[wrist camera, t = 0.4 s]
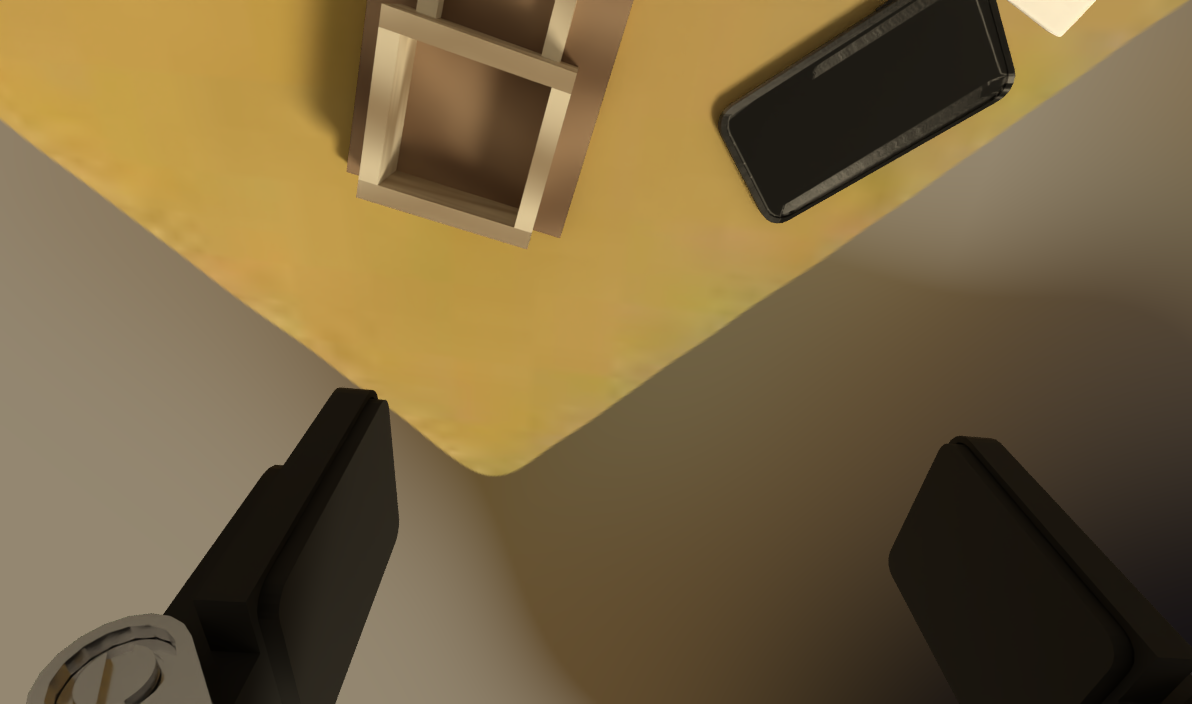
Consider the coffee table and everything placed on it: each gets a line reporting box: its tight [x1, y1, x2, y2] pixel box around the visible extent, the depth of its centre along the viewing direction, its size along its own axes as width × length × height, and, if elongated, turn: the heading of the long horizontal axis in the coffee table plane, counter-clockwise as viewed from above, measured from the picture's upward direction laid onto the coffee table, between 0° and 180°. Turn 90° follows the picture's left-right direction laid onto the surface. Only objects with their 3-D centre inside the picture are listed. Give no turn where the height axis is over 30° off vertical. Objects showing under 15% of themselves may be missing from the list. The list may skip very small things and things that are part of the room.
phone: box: [719, 0, 1015, 223], centre depth 34 cm, size 8×1×15 cm
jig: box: [347, 0, 633, 249], centre depth 30 cm, size 20×13×4 cm, turn 162°
